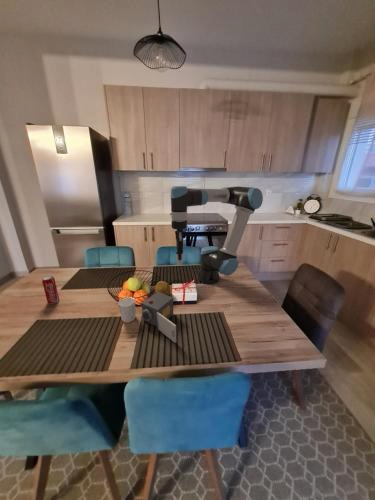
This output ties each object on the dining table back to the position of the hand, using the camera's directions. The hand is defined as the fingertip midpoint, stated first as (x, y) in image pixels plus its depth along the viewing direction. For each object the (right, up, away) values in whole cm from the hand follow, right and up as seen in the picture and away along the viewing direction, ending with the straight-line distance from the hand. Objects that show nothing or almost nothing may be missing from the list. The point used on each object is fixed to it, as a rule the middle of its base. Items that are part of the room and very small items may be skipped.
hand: (179, 264), depth 108 cm
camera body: (-11, -27, -3) cm, 29 cm away
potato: (-11, -20, +16) cm, 28 cm away
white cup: (-26, -27, -3) cm, 37 cm away
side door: (-6, -31, -14) cm, 35 cm away
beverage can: (-72, -22, +11) cm, 76 cm away
